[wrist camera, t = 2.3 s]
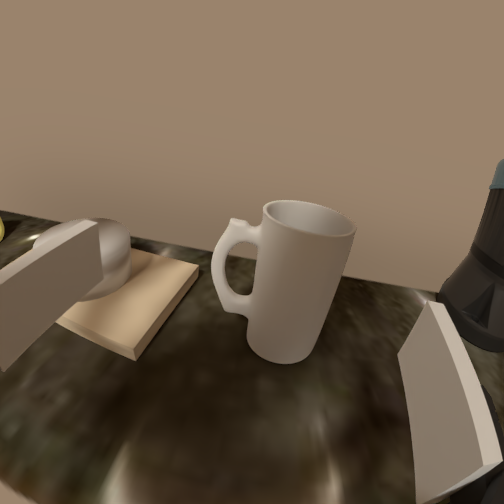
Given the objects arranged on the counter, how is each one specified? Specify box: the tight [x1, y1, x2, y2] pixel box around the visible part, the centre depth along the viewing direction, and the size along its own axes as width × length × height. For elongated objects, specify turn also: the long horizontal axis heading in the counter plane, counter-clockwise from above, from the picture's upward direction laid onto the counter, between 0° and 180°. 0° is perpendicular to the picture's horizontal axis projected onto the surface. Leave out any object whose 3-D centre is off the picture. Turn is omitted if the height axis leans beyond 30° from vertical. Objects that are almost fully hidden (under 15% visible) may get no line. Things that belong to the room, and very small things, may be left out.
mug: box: [211, 200, 357, 364], centre depth 23 cm, size 10×7×12 cm, turn 87°
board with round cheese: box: [1, 218, 199, 361], centre depth 27 cm, size 22×14×6 cm, turn 77°
